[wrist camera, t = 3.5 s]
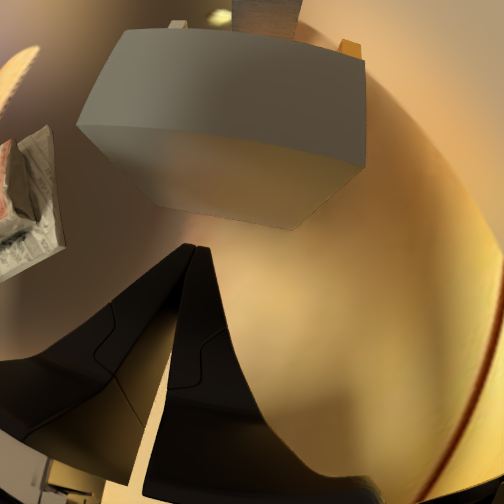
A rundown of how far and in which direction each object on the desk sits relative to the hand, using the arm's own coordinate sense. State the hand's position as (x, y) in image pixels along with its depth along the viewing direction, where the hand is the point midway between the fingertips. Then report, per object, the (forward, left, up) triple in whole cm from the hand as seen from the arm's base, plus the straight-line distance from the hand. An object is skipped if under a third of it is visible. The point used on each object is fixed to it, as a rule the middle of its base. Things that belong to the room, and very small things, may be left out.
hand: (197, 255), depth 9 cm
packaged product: (-1, +20, -8) cm, 22 cm away
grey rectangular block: (+5, 0, -8) cm, 9 cm away
